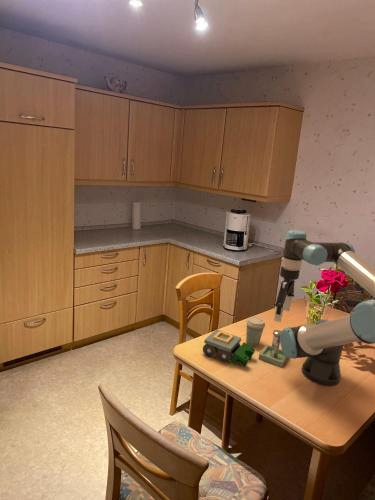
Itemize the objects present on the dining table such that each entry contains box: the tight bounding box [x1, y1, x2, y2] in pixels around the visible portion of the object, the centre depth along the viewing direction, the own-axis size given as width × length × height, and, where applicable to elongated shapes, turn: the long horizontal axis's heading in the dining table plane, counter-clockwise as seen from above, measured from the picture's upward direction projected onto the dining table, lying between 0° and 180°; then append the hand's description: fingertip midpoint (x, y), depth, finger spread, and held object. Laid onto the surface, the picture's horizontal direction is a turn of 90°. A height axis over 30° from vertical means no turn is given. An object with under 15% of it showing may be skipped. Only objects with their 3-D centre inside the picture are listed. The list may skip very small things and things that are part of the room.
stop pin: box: [270, 329, 282, 359], centre depth 162 cm, size 4×4×12 cm
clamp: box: [229, 341, 256, 367], centre depth 158 cm, size 12×6×9 cm, turn 144°
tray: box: [258, 344, 289, 368], centre depth 163 cm, size 10×10×2 cm
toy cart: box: [202, 329, 242, 364], centre depth 161 cm, size 13×12×9 cm
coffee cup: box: [245, 316, 266, 348], centre depth 172 cm, size 8×8×12 cm
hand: (281, 315), depth 158 cm, fingers open, 13 cm apart
